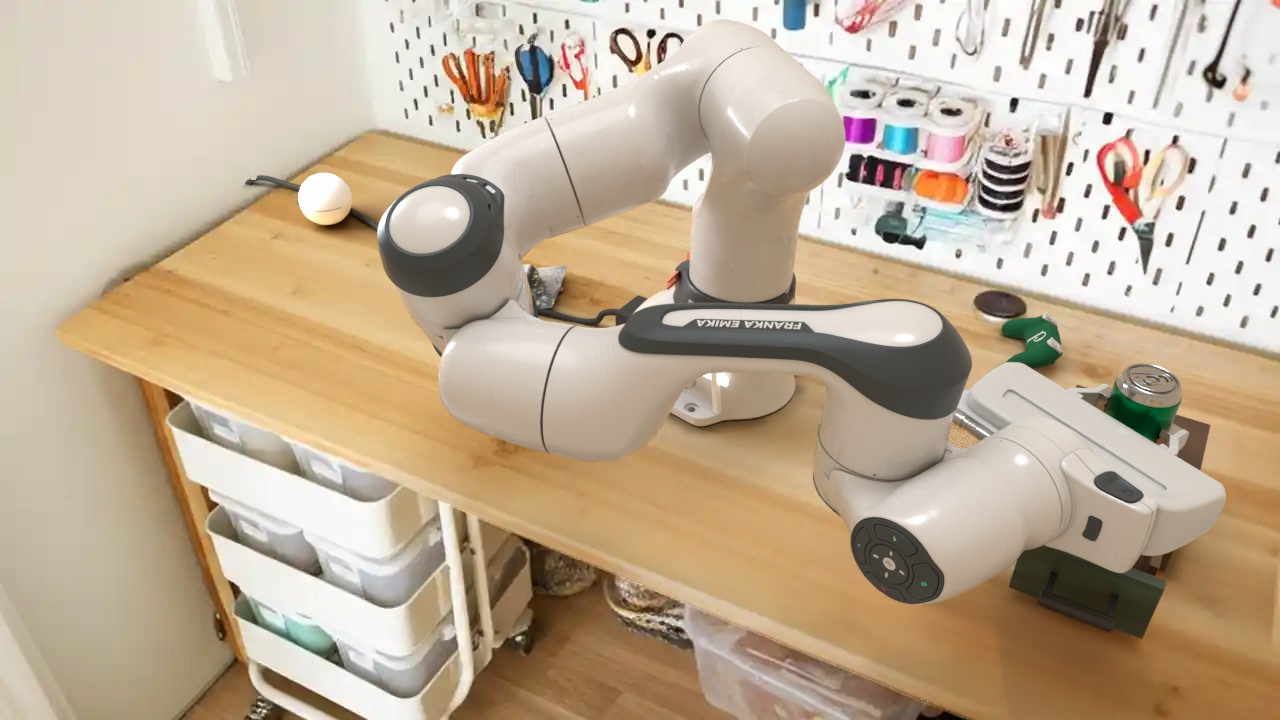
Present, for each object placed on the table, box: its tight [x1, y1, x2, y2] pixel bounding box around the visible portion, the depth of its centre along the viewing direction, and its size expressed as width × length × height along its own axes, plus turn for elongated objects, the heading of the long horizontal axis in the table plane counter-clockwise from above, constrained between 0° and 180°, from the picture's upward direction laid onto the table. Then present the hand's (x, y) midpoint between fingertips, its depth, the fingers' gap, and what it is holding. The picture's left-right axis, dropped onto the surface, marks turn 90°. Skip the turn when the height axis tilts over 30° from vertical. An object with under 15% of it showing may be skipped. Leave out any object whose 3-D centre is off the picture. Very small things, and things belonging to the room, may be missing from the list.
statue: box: [522, 263, 568, 309], centre depth 131 cm, size 11×9×15 cm
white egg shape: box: [296, 172, 353, 226], centre depth 146 cm, size 10×7×7 cm
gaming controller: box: [1000, 311, 1063, 370], centre depth 124 cm, size 9×4×6 cm
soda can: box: [1104, 362, 1183, 444], centre depth 87 cm, size 5×5×12 cm
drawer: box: [1008, 545, 1167, 640], centre depth 93 cm, size 16×11×6 cm
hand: (1144, 414), depth 86 cm, fingers closed on soda can, 5 cm apart
